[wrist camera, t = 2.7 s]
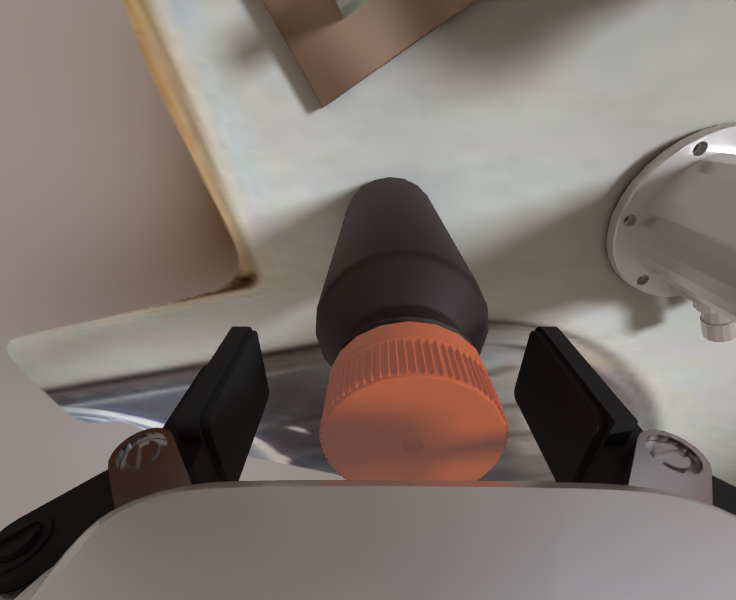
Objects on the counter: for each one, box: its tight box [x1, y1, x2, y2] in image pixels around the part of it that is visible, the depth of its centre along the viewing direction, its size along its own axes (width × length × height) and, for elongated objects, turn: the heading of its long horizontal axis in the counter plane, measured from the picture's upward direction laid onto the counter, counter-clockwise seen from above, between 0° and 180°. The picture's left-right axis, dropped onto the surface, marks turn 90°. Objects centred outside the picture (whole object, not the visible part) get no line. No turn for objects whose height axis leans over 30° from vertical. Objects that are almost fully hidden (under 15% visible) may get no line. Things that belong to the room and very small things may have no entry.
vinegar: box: [316, 177, 509, 481], centre depth 17 cm, size 7×7×20 cm
